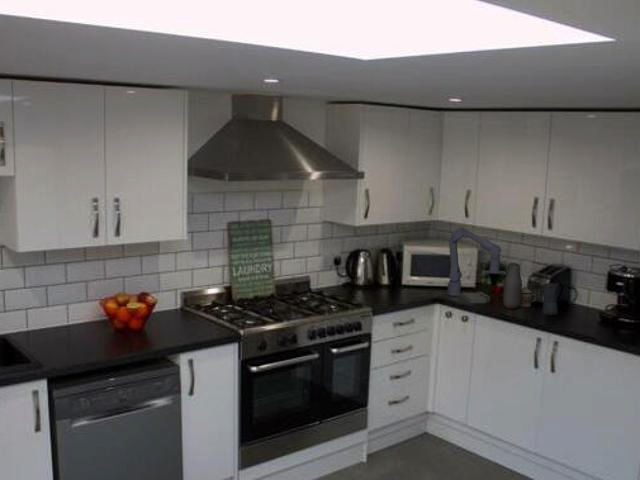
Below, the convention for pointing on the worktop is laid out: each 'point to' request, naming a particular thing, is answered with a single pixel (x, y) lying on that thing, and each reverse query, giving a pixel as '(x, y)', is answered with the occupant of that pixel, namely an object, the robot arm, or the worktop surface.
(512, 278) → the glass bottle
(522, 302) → the teacup with lid
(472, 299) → the seat panel
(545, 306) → the moka pot
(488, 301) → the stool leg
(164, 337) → the worktop surface
